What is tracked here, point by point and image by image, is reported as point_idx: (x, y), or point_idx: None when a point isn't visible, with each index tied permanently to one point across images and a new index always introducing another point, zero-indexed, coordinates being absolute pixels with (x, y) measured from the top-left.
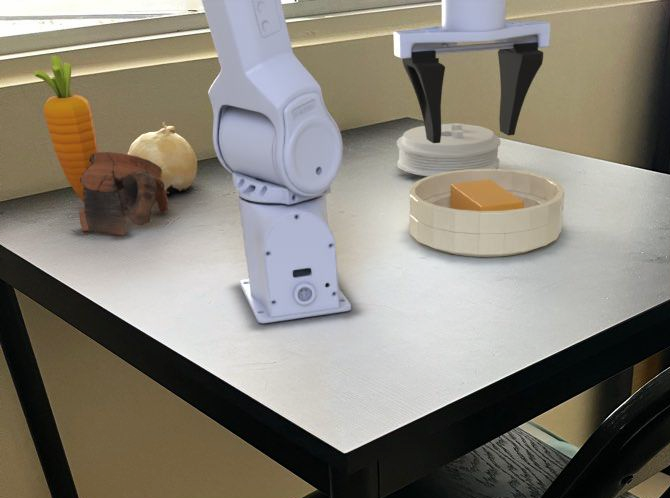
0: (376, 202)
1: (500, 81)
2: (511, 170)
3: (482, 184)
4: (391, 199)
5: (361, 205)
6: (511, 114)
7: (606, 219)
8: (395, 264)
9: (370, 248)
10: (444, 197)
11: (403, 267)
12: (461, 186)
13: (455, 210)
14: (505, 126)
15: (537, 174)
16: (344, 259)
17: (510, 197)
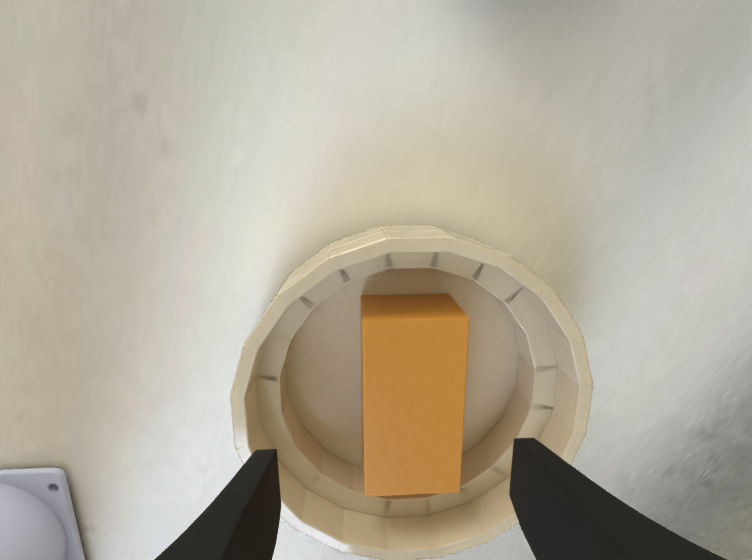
0: (243, 51)
1: (613, 537)
2: (545, 291)
3: (432, 354)
4: (288, 40)
5: (199, 62)
6: (538, 558)
7: (655, 359)
8: (199, 452)
9: (168, 365)
10: (357, 278)
11: (210, 468)
12: (379, 352)
13: (296, 524)
14: (519, 491)
15: (583, 347)
16: (110, 404)
17: (447, 460)
